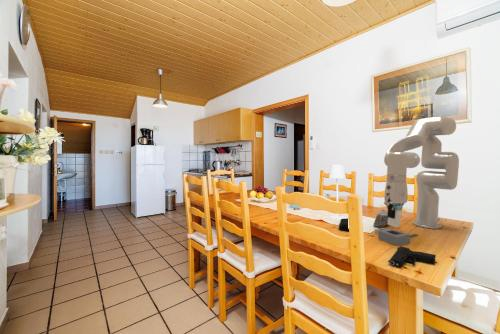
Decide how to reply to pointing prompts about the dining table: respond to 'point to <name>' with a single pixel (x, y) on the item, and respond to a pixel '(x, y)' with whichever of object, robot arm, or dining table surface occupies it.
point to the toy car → (344, 224)
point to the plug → (396, 216)
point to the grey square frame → (378, 230)
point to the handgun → (410, 257)
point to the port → (394, 236)
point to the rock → (381, 219)
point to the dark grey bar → (413, 235)
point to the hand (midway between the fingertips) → (394, 217)
